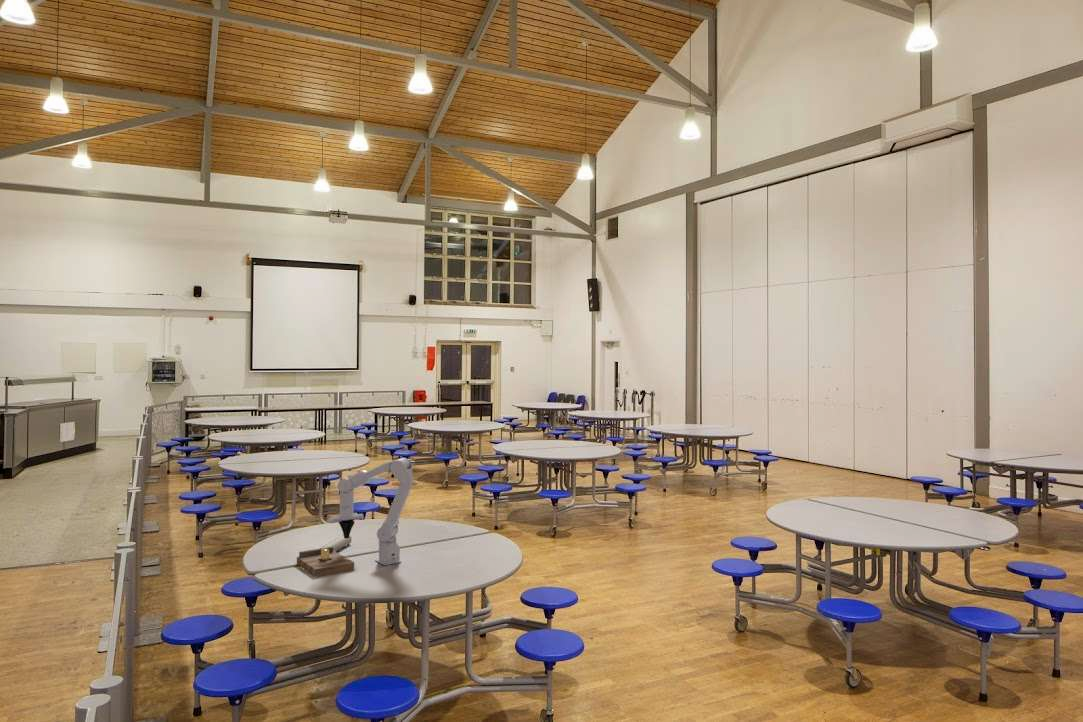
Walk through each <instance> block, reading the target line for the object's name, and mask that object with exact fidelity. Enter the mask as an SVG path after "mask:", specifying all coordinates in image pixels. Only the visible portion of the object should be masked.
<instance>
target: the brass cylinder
mask: <svg viewBox="0 0 1083 722" xmlns="http://www.w3.org/2000/svg"><path fill="white" fill-rule="evenodd" d="M324 561H329V549H322V550H321V562H324Z"/></svg>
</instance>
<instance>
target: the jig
mask: <svg viewBox="0 0 1083 722" xmlns="http://www.w3.org/2000/svg"><path fill="white" fill-rule="evenodd" d="M322 549H329V561H324V562H321V550H322ZM298 552H299V553H298V556H296V565H297V566H298V567H300V568H301V567H302V568H301V569H303V568H304V569H305V570H304V569H303V570H304V571H306V570H307V571H308V572H307V571H306V572H307V573H309V574H310V573H311V574H310V575H312V576H313V575H314V576H318V577H322V576H321V575H323V576H327V575H326V574H329V575H334V574H339V573H344V572H350V571H354V570H355V561H353V560H351V559H349V558H348V557H345V556H343V555H342V554H340V553H338V551H337V552H335V551H333V547H326V548H321V547H320V548H316V549H308V550H303V551H298ZM349 570H350V571H349ZM333 573H334V574H333ZM314 576H313V577H314Z"/></svg>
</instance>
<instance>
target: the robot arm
mask: <svg viewBox="0 0 1083 722" xmlns="http://www.w3.org/2000/svg"><path fill="white" fill-rule="evenodd" d="M384 473H387V474H390V473H391V474H392V475H393V476H395V478H396V479H397V481H398V482H399V485H398V488H397V489H396V493H395V496H394V498H393V501H392V503H391V506H390V509H389V510H388V514H387V516H386V518H385V520H384V521H383V523H382V525H381V526H380V527H379V528H378V529H377V532H376V537H377V538H378V558H375V559H374V561H376V562H377V563H379V564H381V565H383V566H389V565H394V564H398V563H402V560H400V558H401V556H400V546H399V544H398V543H397V536H396V535H397V534H398V533H399V524H400V520H399V519H400V518H401V515H402V512H403V509H404V507H405V504H406V503H407V499H408V496H409V495H410V492H411V489H412V487H413V484H414V476H413V465H412V463H411V461H410V460H409V459H408V458H407V457H400V458H399V459H393V460H390V461H386V462H384V463H382V464H380V465H378V466H376V467H374V468H372V469H369V470H365V469H363V470H362V469H360V470H357V471H356V473H354V474H352V475H351V474H349V475H347V477H344V478H342V479H340V480H339V481H338V483H337V488H338V491H339V515H338V516H334V517H330V518H329V524H331V525H332V524H336V523H338V525H339V526H340V528H341V530H342V535H343V534H344V538H349V535H350V534H351V532H352V529H353V527H354V525H355V521H356V520H363V519H364V514H363V513H356V514H354V513H355V512H354V505H355V504H354V502H355V500H354V498H355V496H354V494H355V493H354V491H355V489H357V488H359V487H361V486H364V485H366V484H368V483H369V482H370V480H371V479H372V478H374V477H377V476H379V475H382V474H384ZM354 520H355V521H354ZM350 536H351V535H350Z"/></svg>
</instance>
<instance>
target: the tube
mask: <svg viewBox="0 0 1083 722" xmlns="http://www.w3.org/2000/svg"><path fill="white" fill-rule="evenodd" d="M351 543H352V536H351V535H349V538H344V534H343V533H342V535H341V536H338V537H337V538H336V539H334V540H331V541H330V542H328V543H326V544H324V545H322V546H320V548H326V547H333V551H335V552H337V553H338V550H339V551H341V550H342V549H343V547H344V548H345V547H347V546H349V545H350V544H351ZM348 544H349V545H348ZM346 545H347V546H346Z"/></svg>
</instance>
